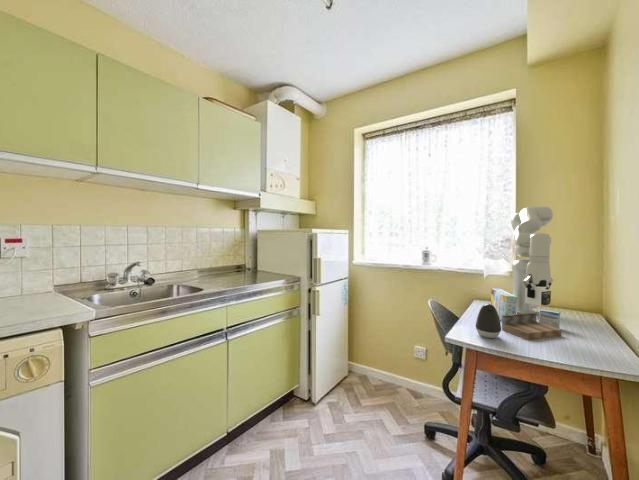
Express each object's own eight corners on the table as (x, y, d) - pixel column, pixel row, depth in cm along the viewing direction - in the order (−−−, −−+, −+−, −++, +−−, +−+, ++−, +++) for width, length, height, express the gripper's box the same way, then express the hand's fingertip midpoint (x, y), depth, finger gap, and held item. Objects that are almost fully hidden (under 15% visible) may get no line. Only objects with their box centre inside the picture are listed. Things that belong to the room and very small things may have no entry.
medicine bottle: (541, 306, 130) (542, 280, 130) (524, 303, 137) (525, 278, 136) (550, 305, 133) (551, 279, 132) (534, 301, 139) (534, 277, 139)
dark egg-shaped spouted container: (477, 338, 130) (477, 305, 130) (474, 331, 140) (474, 300, 139) (503, 342, 127) (504, 307, 126) (498, 334, 136) (499, 302, 136)
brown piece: (533, 326, 147) (533, 312, 147) (561, 335, 134) (562, 320, 134) (501, 329, 142) (502, 315, 142) (527, 339, 129) (528, 323, 129)
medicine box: (538, 327, 146) (539, 310, 146) (539, 325, 150) (540, 308, 149) (559, 330, 141) (559, 313, 141) (559, 328, 144) (560, 311, 144)
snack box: (517, 325, 149) (517, 296, 149) (505, 324, 150) (505, 295, 150) (500, 313, 170) (500, 288, 169) (489, 312, 171) (490, 287, 171)
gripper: (545, 258, 140) (543, 294, 140) (516, 259, 135) (515, 296, 136) (561, 260, 133) (560, 298, 133) (532, 261, 128) (531, 300, 129)
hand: (537, 297), depth 135 cm, fingers closed on medicine bottle, 7 cm apart
